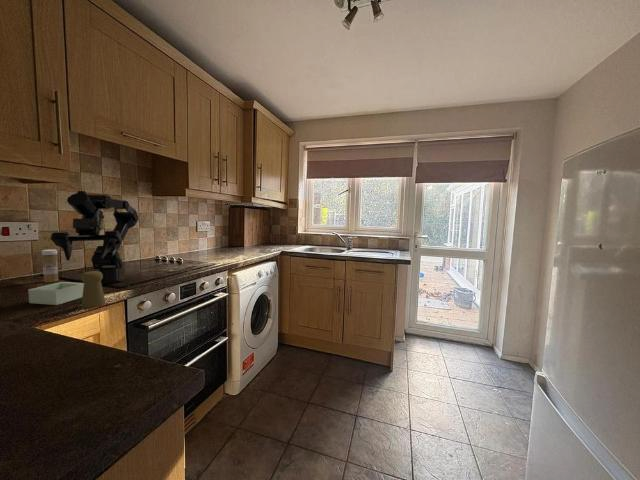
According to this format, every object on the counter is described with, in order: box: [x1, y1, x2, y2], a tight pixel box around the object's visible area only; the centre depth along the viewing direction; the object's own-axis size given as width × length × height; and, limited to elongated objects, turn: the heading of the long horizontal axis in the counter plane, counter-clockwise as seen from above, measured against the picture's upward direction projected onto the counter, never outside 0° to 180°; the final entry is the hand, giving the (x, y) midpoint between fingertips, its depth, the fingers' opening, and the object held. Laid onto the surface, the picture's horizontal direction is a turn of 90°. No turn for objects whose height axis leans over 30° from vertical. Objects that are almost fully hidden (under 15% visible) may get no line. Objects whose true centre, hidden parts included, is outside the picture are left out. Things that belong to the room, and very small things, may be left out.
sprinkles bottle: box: [41, 249, 60, 283], centre depth 111 cm, size 5×5×14 cm
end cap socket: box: [27, 281, 84, 306], centre depth 90 cm, size 10×10×4 cm
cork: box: [80, 270, 107, 309], centre depth 85 cm, size 6×6×11 cm
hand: (84, 259), depth 92 cm, fingers open, 9 cm apart
